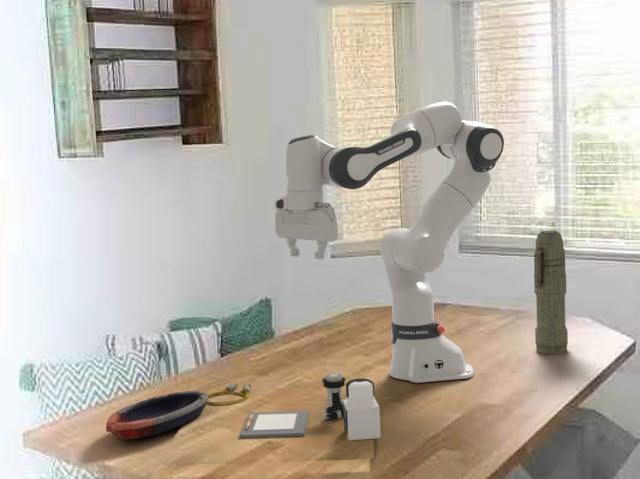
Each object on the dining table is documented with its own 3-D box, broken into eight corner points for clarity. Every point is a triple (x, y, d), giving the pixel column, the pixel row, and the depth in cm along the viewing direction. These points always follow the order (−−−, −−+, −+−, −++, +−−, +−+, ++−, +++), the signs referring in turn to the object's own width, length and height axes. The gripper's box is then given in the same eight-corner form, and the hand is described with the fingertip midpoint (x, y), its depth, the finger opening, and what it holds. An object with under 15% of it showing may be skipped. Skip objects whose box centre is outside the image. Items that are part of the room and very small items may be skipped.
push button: (330, 423, 202) (328, 380, 201) (315, 419, 206) (312, 376, 205) (351, 416, 206) (349, 374, 205) (336, 412, 210) (334, 370, 209)
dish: (226, 411, 216) (225, 391, 215) (130, 450, 191) (128, 428, 191) (181, 403, 225) (179, 384, 225) (83, 439, 201) (81, 417, 200)
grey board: (308, 413, 210) (308, 407, 210) (304, 435, 195) (303, 429, 194) (249, 415, 211) (249, 409, 211) (240, 438, 195) (239, 431, 195)
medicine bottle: (344, 430, 197) (341, 377, 196) (376, 428, 197) (373, 375, 196) (347, 441, 190) (345, 386, 188) (381, 438, 190) (378, 383, 189)
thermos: (576, 350, 258) (574, 229, 254) (554, 359, 249) (551, 234, 246) (549, 346, 264) (546, 228, 260) (527, 354, 256) (524, 233, 252)
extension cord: (269, 394, 230) (268, 386, 230) (223, 410, 219) (222, 402, 218) (237, 387, 238) (236, 380, 238) (191, 402, 227) (190, 394, 227)
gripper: (343, 202, 214) (345, 259, 216) (289, 200, 230) (291, 253, 231) (323, 203, 210) (325, 262, 211) (269, 202, 225) (272, 256, 227)
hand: (307, 257), depth 221 cm, fingers open, 8 cm apart
